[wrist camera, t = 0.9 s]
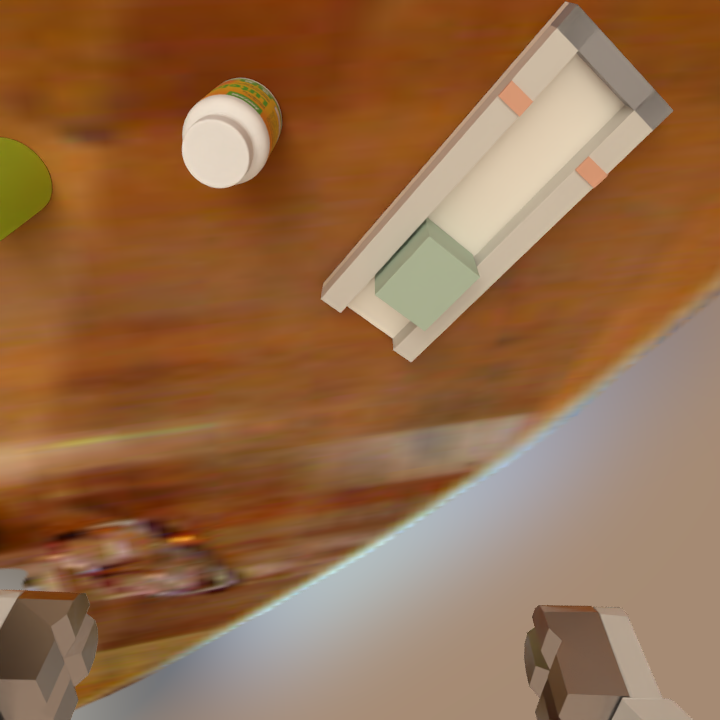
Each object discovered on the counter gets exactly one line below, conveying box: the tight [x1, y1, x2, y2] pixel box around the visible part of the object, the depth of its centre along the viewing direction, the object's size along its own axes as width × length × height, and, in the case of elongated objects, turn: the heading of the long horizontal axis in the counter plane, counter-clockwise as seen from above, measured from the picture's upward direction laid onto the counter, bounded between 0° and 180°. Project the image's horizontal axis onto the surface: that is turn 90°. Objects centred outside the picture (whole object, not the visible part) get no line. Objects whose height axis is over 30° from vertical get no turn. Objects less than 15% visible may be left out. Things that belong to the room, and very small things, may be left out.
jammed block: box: [375, 218, 480, 331], centre depth 46 cm, size 6×5×4 cm
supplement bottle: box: [182, 78, 282, 188], centre depth 39 cm, size 5×5×10 cm
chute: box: [321, 2, 673, 362], centre depth 45 cm, size 26×10×3 cm, turn 141°
